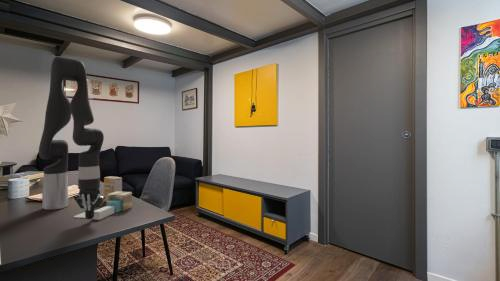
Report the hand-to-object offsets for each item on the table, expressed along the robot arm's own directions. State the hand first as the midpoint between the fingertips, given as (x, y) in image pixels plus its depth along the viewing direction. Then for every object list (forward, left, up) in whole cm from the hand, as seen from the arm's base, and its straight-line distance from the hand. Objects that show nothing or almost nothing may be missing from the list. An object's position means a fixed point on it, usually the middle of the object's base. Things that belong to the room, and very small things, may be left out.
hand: (89, 218), depth 101 cm
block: (0, +15, -2) cm, 15 cm away
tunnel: (0, +19, -2) cm, 19 cm away
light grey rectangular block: (0, +8, -2) cm, 8 cm away
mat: (-7, +8, -2) cm, 11 cm away
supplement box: (-12, +30, -2) cm, 32 cm away
